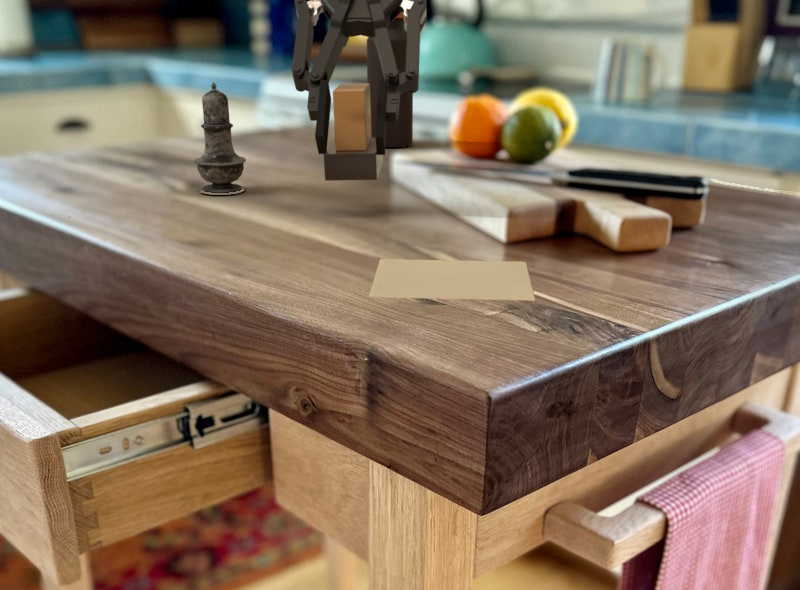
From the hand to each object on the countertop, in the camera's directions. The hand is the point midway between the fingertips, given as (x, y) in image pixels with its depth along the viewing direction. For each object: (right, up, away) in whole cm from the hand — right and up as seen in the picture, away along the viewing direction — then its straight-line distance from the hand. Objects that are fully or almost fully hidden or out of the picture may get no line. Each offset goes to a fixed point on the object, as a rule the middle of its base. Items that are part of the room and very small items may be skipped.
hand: (350, 145), depth 83 cm
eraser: (0, -1, +5) cm, 5 cm away
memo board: (+9, -16, -16) cm, 24 cm away
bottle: (+3, +14, +50) cm, 52 cm away
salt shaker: (-16, 0, +18) cm, 24 cm away
